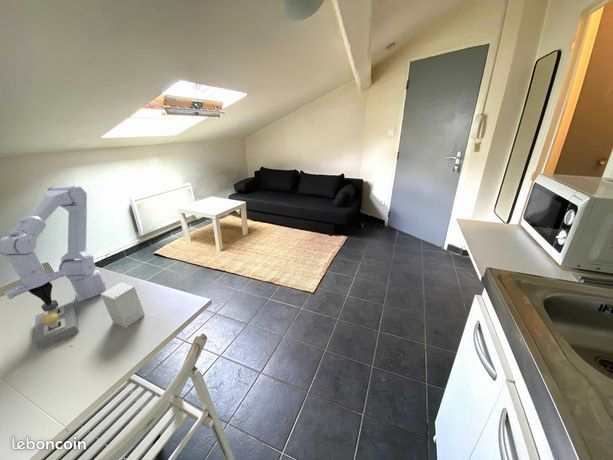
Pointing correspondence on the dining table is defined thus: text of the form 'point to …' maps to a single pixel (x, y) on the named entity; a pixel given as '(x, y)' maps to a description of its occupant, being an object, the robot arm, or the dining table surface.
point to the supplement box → (123, 304)
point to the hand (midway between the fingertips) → (48, 303)
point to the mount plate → (66, 329)
